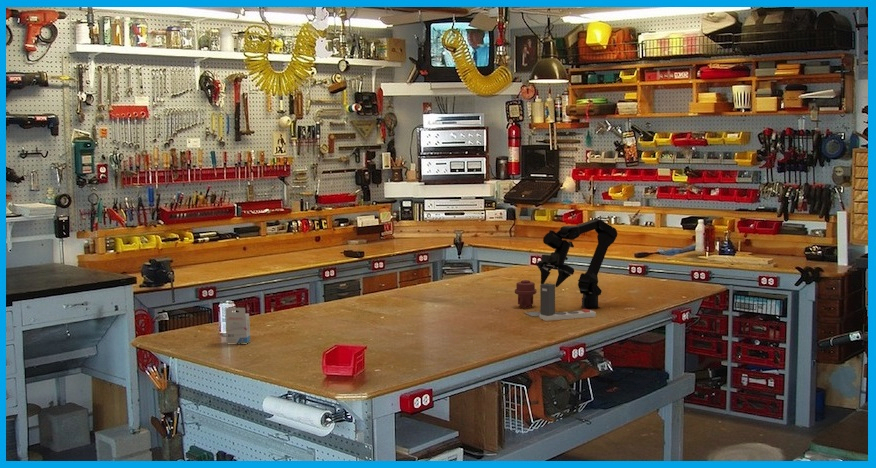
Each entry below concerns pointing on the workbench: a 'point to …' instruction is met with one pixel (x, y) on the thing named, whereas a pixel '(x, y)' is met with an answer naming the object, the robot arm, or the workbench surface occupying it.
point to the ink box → (237, 326)
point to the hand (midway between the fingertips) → (548, 285)
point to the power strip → (569, 315)
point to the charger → (547, 299)
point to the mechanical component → (525, 293)
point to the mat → (533, 314)
